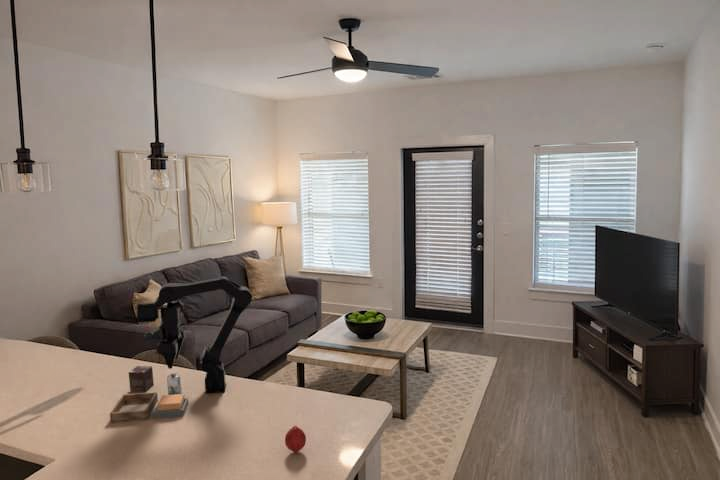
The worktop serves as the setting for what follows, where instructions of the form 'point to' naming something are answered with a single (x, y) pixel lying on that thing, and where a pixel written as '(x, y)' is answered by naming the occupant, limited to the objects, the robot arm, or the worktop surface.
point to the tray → (134, 407)
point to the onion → (295, 439)
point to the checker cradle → (172, 411)
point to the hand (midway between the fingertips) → (173, 363)
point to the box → (141, 378)
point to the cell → (174, 384)
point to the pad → (171, 402)
